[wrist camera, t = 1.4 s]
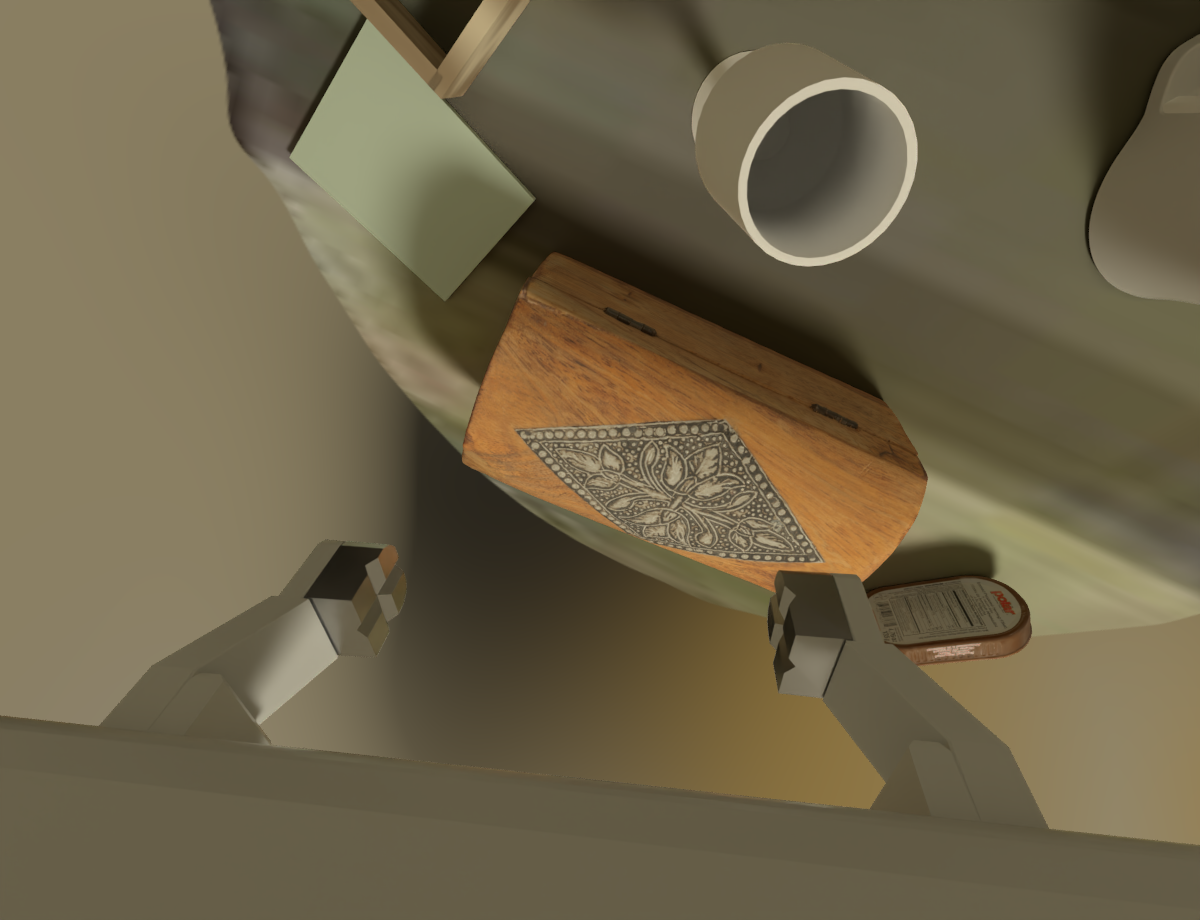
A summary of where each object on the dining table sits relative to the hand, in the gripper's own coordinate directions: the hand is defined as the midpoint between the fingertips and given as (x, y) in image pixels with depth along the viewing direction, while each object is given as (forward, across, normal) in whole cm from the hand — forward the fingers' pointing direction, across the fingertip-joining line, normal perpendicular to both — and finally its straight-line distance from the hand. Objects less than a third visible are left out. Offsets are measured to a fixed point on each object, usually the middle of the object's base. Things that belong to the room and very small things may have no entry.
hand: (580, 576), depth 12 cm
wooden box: (+34, -3, +15) cm, 37 cm away
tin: (+34, -30, +36) cm, 57 cm away
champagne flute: (+34, -6, -6) cm, 35 cm away
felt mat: (+34, +17, -3) cm, 38 cm away
